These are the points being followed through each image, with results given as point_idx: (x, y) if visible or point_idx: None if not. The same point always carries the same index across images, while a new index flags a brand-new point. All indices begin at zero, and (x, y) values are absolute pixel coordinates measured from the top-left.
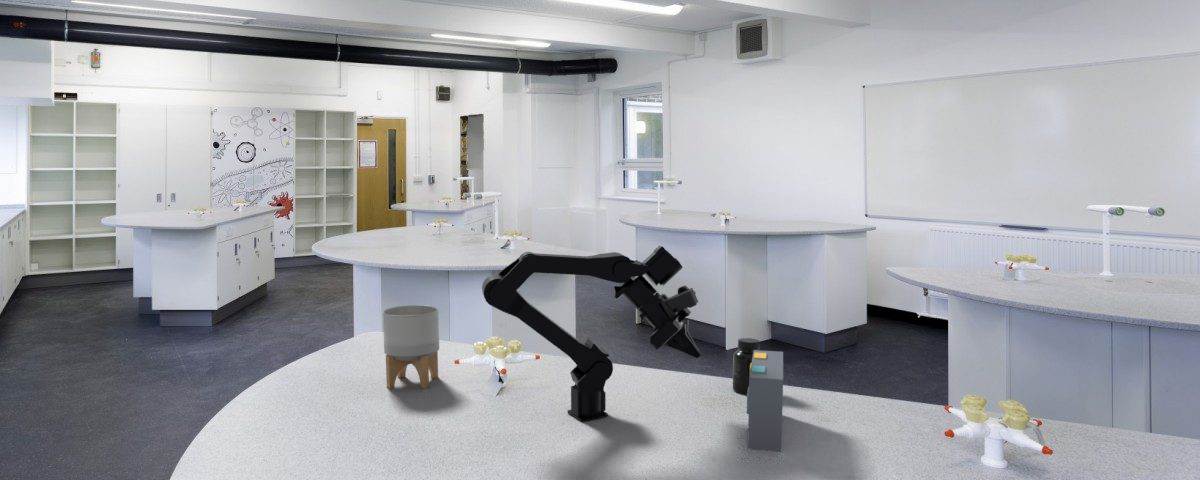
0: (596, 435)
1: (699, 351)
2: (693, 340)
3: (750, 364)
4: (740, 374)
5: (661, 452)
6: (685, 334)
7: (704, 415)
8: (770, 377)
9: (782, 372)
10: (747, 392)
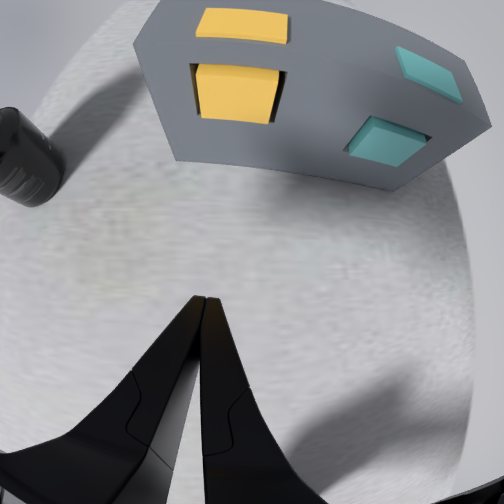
0: (360, 474)
1: (193, 306)
2: (138, 365)
3: (218, 75)
4: (31, 173)
5: (429, 352)
6: (292, 475)
7: (210, 280)
8: (467, 77)
9: (416, 34)
10: (419, 141)
